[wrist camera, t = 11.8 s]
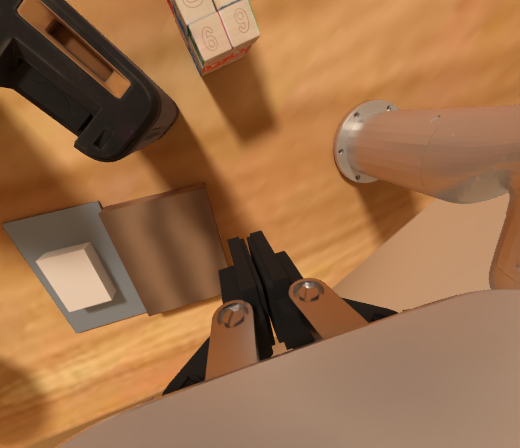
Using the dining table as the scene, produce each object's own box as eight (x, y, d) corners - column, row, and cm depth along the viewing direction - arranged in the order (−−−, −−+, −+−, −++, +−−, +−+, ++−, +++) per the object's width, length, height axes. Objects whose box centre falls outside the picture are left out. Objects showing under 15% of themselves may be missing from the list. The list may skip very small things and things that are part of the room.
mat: (98, 200, 35) (97, 201, 34) (151, 309, 43) (150, 310, 43) (3, 223, 33) (1, 224, 33) (77, 331, 41) (76, 333, 41)
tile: (35, 261, 33) (45, 252, 35) (69, 312, 37) (76, 301, 39) (83, 249, 34) (90, 241, 36) (111, 300, 38) (116, 290, 40)
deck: (204, 183, 37) (204, 187, 34) (232, 280, 44) (234, 290, 42) (105, 206, 35) (98, 213, 32) (152, 303, 43) (149, 316, 40)
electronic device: (87, 88, 30) (-80, 41, 12) (118, 48, 29) (-9, -69, 11) (155, 145, 34) (109, 174, 16) (184, 110, 33) (170, 100, 15)
